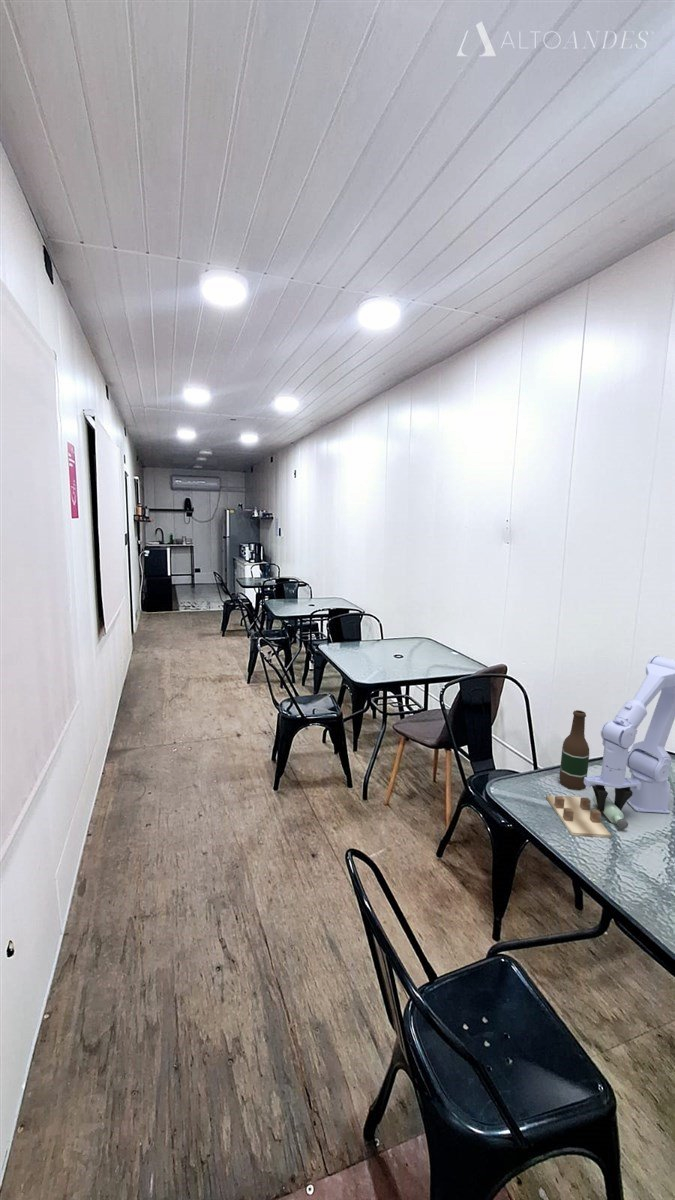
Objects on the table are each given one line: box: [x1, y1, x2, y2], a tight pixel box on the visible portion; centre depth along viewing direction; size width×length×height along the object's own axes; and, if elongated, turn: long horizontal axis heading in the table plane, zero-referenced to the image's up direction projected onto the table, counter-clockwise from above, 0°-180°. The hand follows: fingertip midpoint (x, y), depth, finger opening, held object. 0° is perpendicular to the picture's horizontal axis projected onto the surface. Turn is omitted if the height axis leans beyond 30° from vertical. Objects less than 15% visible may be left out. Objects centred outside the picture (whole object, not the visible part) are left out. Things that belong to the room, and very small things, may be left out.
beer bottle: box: [559, 709, 590, 791], centre depth 150 cm, size 8×8×24 cm
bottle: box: [592, 794, 629, 830], centre depth 133 cm, size 4×12×4 cm, turn 177°
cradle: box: [545, 794, 612, 839], centre depth 134 cm, size 10×18×4 cm, turn 177°
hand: (608, 810), depth 135 cm, fingers closed on bottle, 4 cm apart
